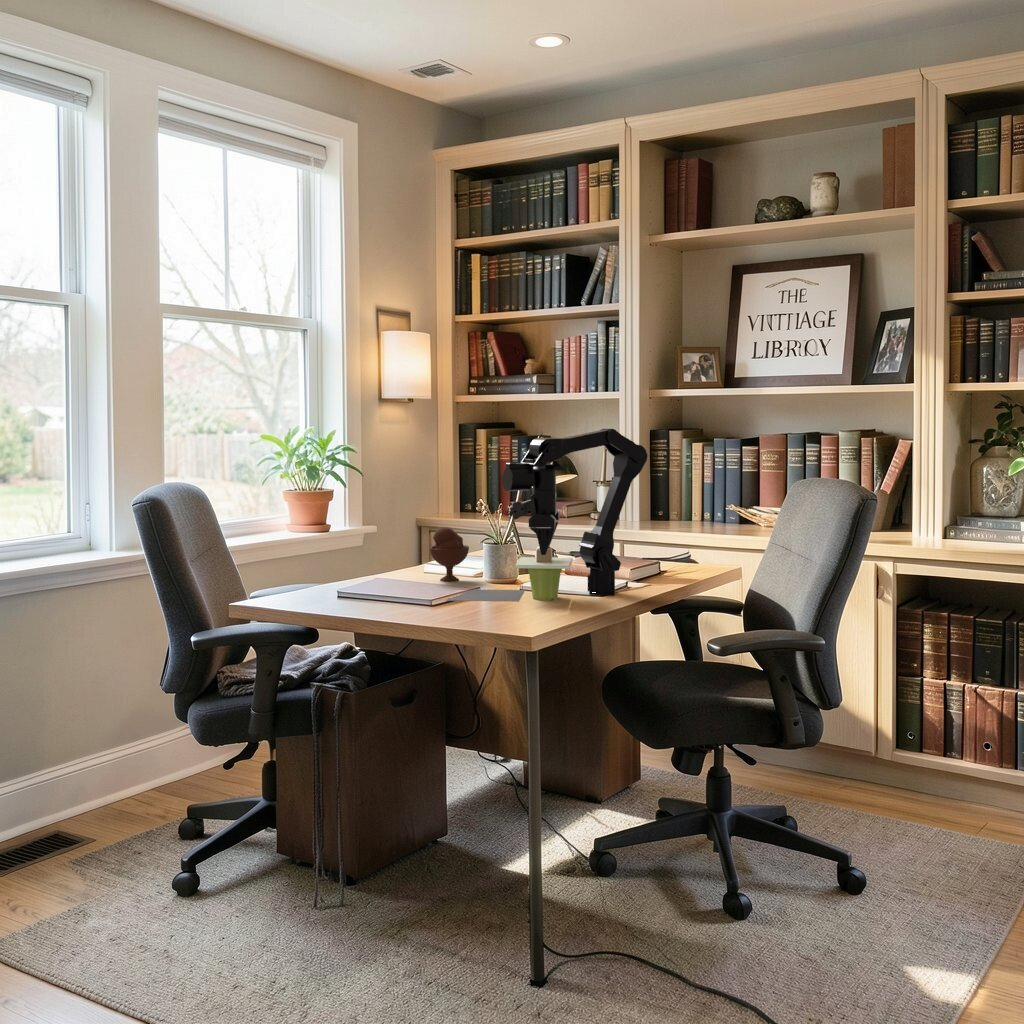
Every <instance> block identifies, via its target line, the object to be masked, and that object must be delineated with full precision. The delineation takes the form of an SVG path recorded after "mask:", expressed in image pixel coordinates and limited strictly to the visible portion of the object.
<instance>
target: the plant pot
mask: <svg viewBox="0 0 1024 1024" xmlns="http://www.w3.org/2000/svg"><path fill="white" fill-rule="evenodd" d="M526 569H527V573H528V575H529V581H530V587H531V589H530V590H531V595H532V599H533V600H536V601H551V600H557V599H558V597H559V596H558V595H559V587H560V580H561V579H560V578H561V574H562V571H563V569H544V568H526Z"/></svg>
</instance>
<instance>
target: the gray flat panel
mask: <svg viewBox="0 0 1024 1024" xmlns="http://www.w3.org/2000/svg"><path fill="white" fill-rule="evenodd" d="M525 591H526V590H525V589H479V588H478V589H476V588H475V589H473V590H470V591H468V592H465V593H463V594H461V595H459V596H456V597H453V598H448V597H447V598H448V599H445V601H447V602H451V601H452V602H516V603H517V602H519V601H520V600H521V598H522V596H523V595H524V593H525Z"/></svg>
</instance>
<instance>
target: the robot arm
mask: <svg viewBox="0 0 1024 1024" xmlns="http://www.w3.org/2000/svg"><path fill="white" fill-rule="evenodd" d="M603 446H604V448H605V449H606V450H607V452H608V453H609V454H611V456H613V462H612V468H613V476H612V480H611V482H610V486H609V488H608V490H607V493H606V495H605V499H604V502H603V504H602V508H601V510H600V513H599V514H598V515H599V516H598V518H597V520H596V523H595V526H594V527H593V528H592V530H591V531H586V530H585V531H584V532H583V535H582V539H581V541H580V543H579V544H578V546H579V547H580V548H579V555H580V558H581V559H582V561H584V563H585V568H588V569H589V573H588V574H587V592H588V593H589V595H591V596H592V595H593V596H594V595H595V596H615V595H616V572H618V571H620V569H621V564H622V562H621V561H620V560H619V559H618V558H617V556H615V554H614V553H613V552H614V548H615V547H614V546H615V542H614V541H615V539H614V531H615V529H616V526H617V524H618V521H619V517H620V516H621V512H622V509H623V507H624V503H626V499H627V496H628V493H629V490H630V487H631V485H632V482H633V481H634V479H635V478H637V476H638V475H639V474H640V473H641V472H642V470H643V468H644V466H645V464H646V463H647V461H648V458H649V457H648V456H649V455H648V453H647V450H646V448H645V447H644V446H643V445H641V444H637V443H635V442H634V441H633V440H631V439H629V438H628V437H626V436H624V435H622V434H621V433H620V432H619V431H617V430H616V429H615V428H602V429H599V430H595V431H590V432H585V433H581V434H580V433H579V434H575V435H570V436H566V437H536V438H534V439H532V440H531V442H530V444H529V447H528V451H526V453H525V455H524V457H523V458H522V460H521V461H520V463H519V462H518V463H515V462H506V463H505V468H504V470H503V472H502V475H501V483H502V487H503V489H504V491H506V492H515V491H517V492H518V491H519V492H521V491H529V490H531V489H532V494H531V495H530V499H528V500H525V501H522V502H521V500H518V501H515V502H513V503H512V505H511V506H509V511H510V515H511V517H512V520H514V521H515V520H517V519H519V518H521V517H524V516H527V515H529V514H530V518H528V528H529V529H530V530H531V531H532V532H533V533H534V534H536V539H537V542H538V547H539V548H540V552H541V555H546V552H547V550H548V548H550V547H551V544H552V541H553V538H554V535H555V532H556V530H557V527H558V524H559V521H560V511H559V510H558V509H557V497H558V495H557V471H558V472H559V471H564V470H565V467H564V466H562V464H560V463H559V461H558V460H559V459H561V458H564V457H565V456H566V455H569V454H571V453H575V452H581V451H584V450H589V449H593V448H598V447H603ZM534 467H535V468H534ZM592 592H596V593H592Z"/></svg>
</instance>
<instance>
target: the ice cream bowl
mask: <svg viewBox="0 0 1024 1024" xmlns="http://www.w3.org/2000/svg"><path fill="white" fill-rule="evenodd" d="M432 538H433V541H434V543H435V545H432V546H429V552H430V555H431V557H432V559H434V561H435V562H436V563H438V564H439V565H441V566H443V567H445V569H446V575H445V576H443V577H441V578H440V580H439V582H442V583H455V582H456V583H457V582H459V581H460V579H459V577H457V576H455V575H454V572H453V569H454V567H456V566H458V565H460V564H461V563H462V562H463V561H464V560H465V559H467V556H468V555H469V550H470V547H469V545H466V544H464V539H463V537H462V536H461V535H459V534H458V533H457V532H455V530H454V529H452V528H451V527H447V526H445V527H439V528H438V529H437V530H436V531H435V532H434V534H433V536H432Z"/></svg>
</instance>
